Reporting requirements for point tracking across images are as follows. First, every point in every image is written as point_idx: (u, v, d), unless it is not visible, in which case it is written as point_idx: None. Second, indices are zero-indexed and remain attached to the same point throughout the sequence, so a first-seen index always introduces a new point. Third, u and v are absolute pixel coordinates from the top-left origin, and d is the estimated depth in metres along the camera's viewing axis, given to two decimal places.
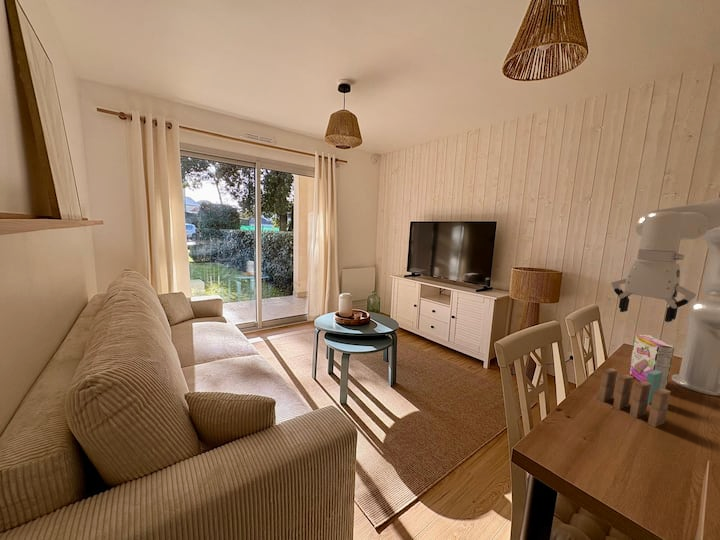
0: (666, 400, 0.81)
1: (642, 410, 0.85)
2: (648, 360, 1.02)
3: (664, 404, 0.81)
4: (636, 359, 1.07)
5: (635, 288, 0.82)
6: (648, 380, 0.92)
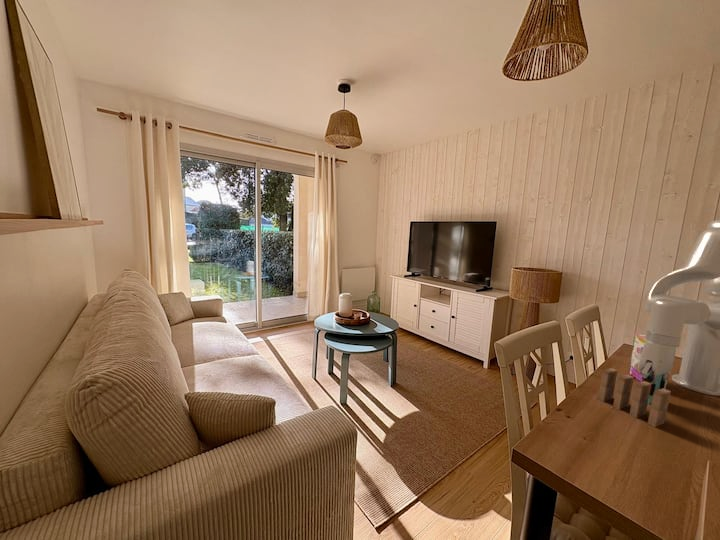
0: (666, 400, 0.81)
1: (642, 410, 0.85)
2: None
3: (664, 404, 0.81)
4: (636, 359, 1.07)
5: (661, 370, 0.89)
6: None
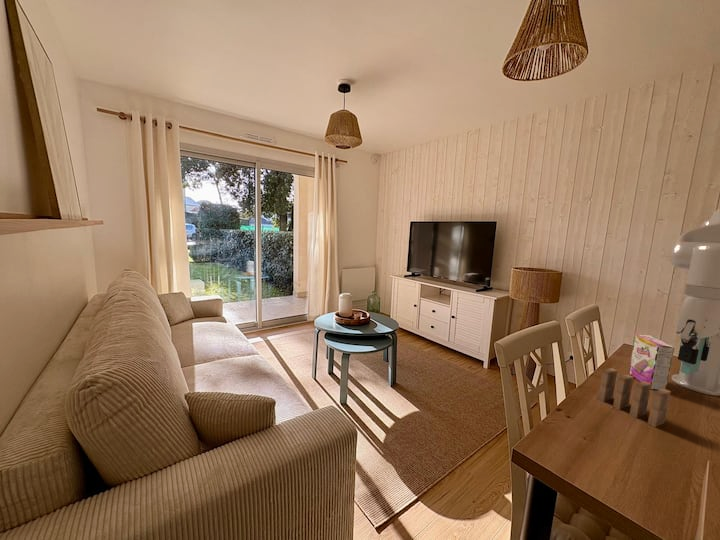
0: (666, 399, 0.81)
1: (642, 410, 0.85)
2: (648, 360, 1.02)
3: (664, 404, 0.81)
4: (636, 359, 1.07)
5: (707, 332, 0.71)
6: None
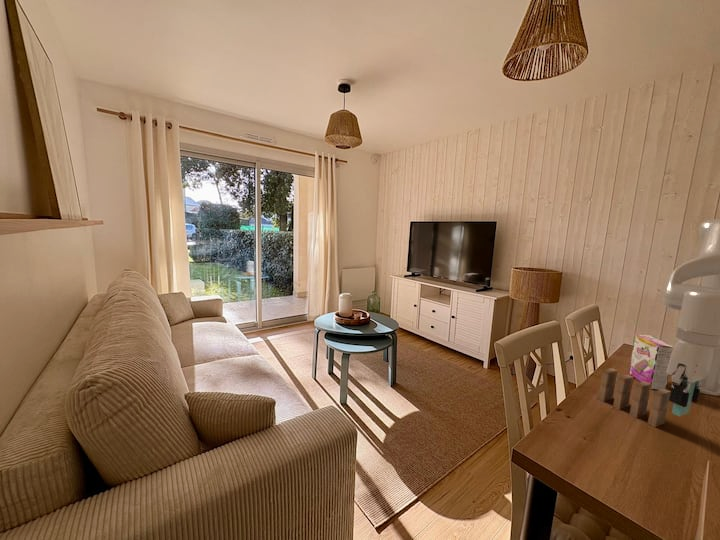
0: (666, 400, 0.81)
1: (642, 410, 0.85)
2: (648, 360, 1.02)
3: (664, 404, 0.81)
4: (636, 359, 1.07)
5: (697, 376, 0.73)
6: None
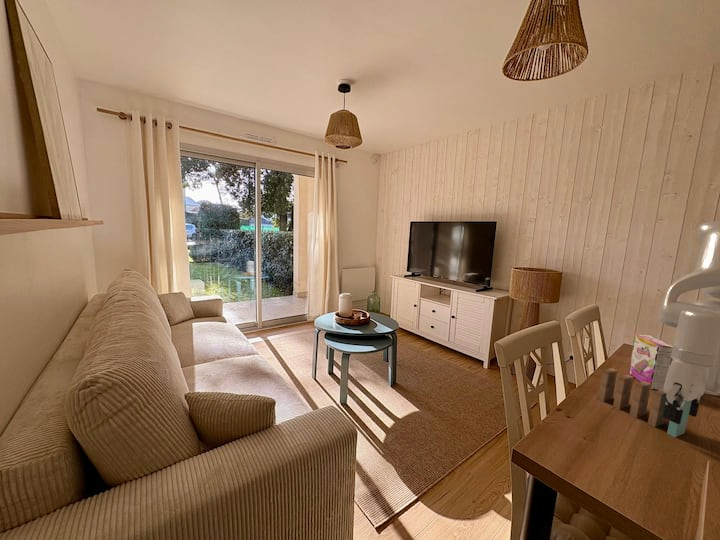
0: None
1: (642, 410, 0.85)
2: (648, 360, 1.02)
3: (664, 404, 0.81)
4: (636, 359, 1.07)
5: (693, 395, 0.74)
6: None
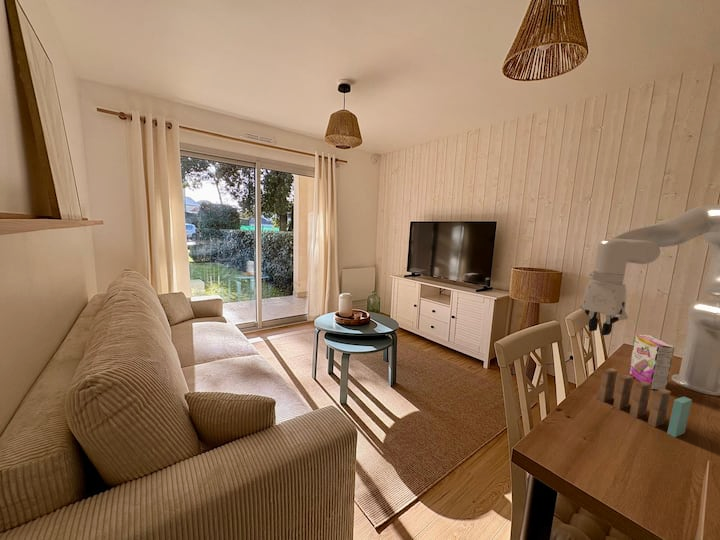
0: (666, 400, 0.81)
1: (642, 410, 0.85)
2: (648, 360, 1.02)
3: (664, 404, 0.81)
4: (636, 359, 1.07)
5: None
6: (675, 409, 0.77)
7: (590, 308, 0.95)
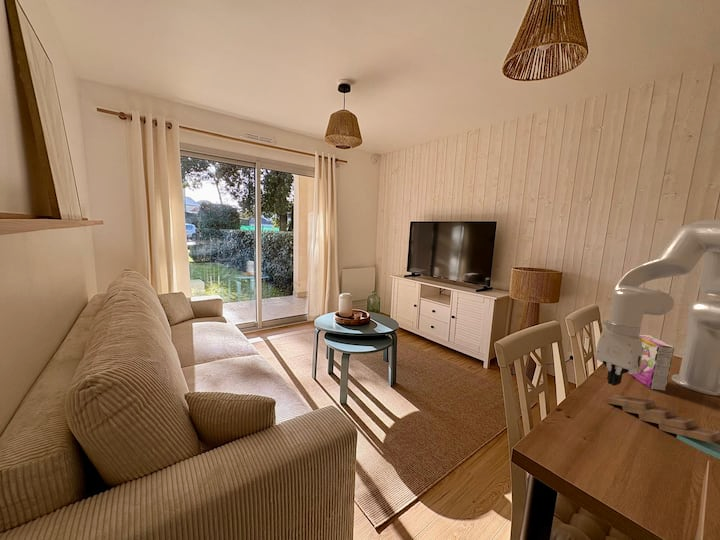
0: None
1: None
2: (648, 360, 1.02)
3: None
4: None
5: None
6: (718, 456, 0.70)
7: (604, 359, 0.91)
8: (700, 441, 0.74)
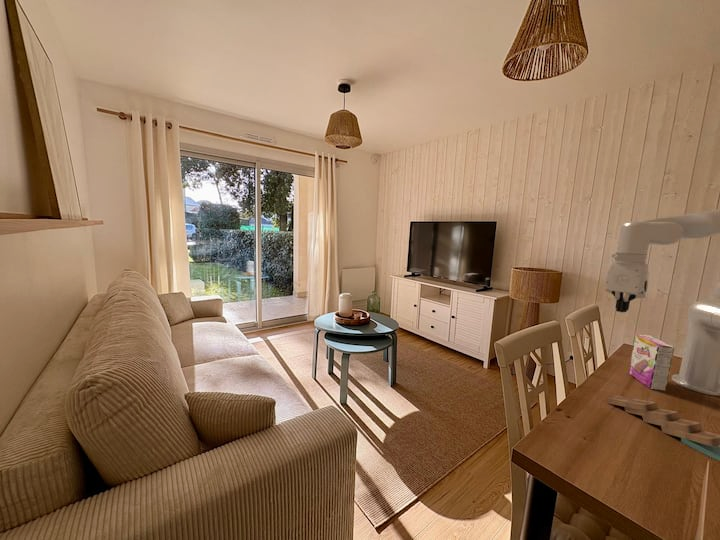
0: None
1: None
2: (648, 360, 1.02)
3: None
4: (636, 359, 1.07)
5: None
6: None
7: (613, 288, 0.99)
8: (705, 445, 0.73)
